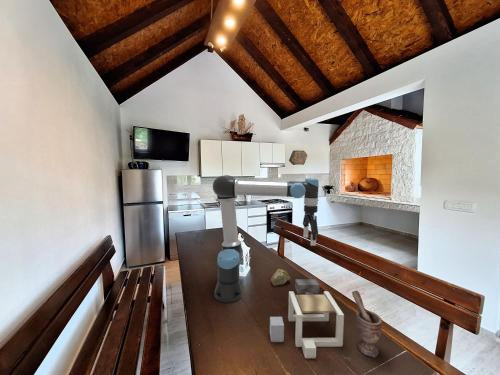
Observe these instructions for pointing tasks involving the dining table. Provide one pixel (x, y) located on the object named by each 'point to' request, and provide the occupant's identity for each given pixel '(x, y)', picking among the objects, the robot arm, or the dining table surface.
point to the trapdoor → (311, 297)
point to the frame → (316, 317)
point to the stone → (276, 329)
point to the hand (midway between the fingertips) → (309, 241)
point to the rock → (280, 277)
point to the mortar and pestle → (367, 328)
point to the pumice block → (309, 348)
